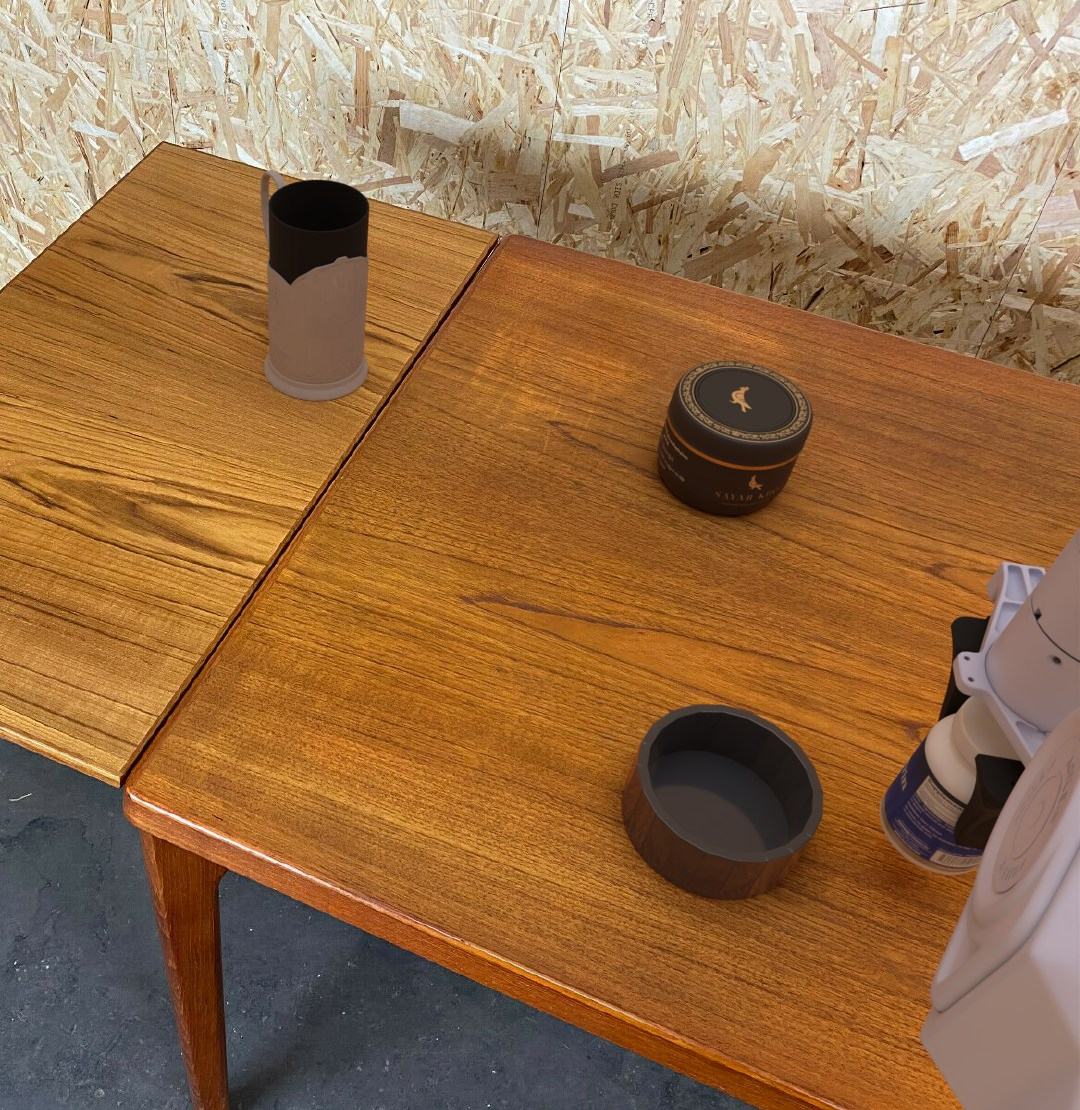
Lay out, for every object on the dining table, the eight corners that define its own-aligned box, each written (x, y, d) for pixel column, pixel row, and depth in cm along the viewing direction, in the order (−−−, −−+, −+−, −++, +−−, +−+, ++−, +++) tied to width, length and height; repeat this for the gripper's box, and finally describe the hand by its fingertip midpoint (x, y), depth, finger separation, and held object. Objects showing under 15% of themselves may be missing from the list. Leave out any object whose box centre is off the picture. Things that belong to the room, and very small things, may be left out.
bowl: (832, 871, 65) (861, 832, 62) (675, 922, 63) (696, 884, 60) (737, 729, 72) (758, 686, 68) (591, 769, 69) (606, 727, 66)
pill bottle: (912, 764, 64) (990, 659, 57) (1007, 835, 61) (1102, 735, 54) (854, 823, 62) (928, 722, 54) (950, 900, 59) (1042, 805, 51)
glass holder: (291, 412, 91) (291, 248, 80) (220, 317, 100) (211, 157, 89) (387, 383, 94) (399, 220, 83) (310, 293, 103) (312, 134, 92)
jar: (680, 530, 84) (708, 452, 78) (630, 440, 90) (653, 363, 85) (805, 514, 85) (842, 437, 80) (747, 427, 92) (777, 350, 86)
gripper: (976, 488, 53) (871, 660, 63) (1035, 750, 44) (900, 903, 54) (1138, 511, 52) (1004, 682, 63) (1233, 785, 43) (1058, 933, 53)
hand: (966, 786), depth 58 cm, fingers closed on pill bottle, 6 cm apart
